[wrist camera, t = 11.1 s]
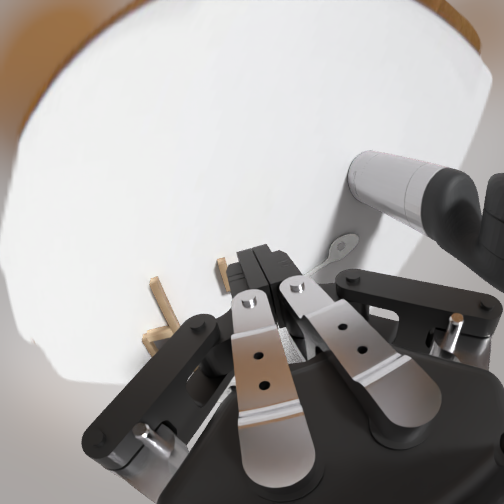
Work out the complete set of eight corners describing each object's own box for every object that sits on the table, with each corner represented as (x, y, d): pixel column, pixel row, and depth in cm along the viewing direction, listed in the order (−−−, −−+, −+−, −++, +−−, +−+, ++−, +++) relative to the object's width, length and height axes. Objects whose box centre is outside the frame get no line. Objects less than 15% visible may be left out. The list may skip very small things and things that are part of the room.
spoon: (359, 241, 47) (363, 245, 46) (269, 310, 49) (271, 315, 48) (350, 224, 45) (354, 228, 44) (256, 296, 47) (258, 302, 46)
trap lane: (262, 246, 43) (267, 254, 41) (284, 346, 53) (288, 356, 51) (118, 287, 41) (114, 297, 38) (169, 376, 51) (169, 386, 48)
